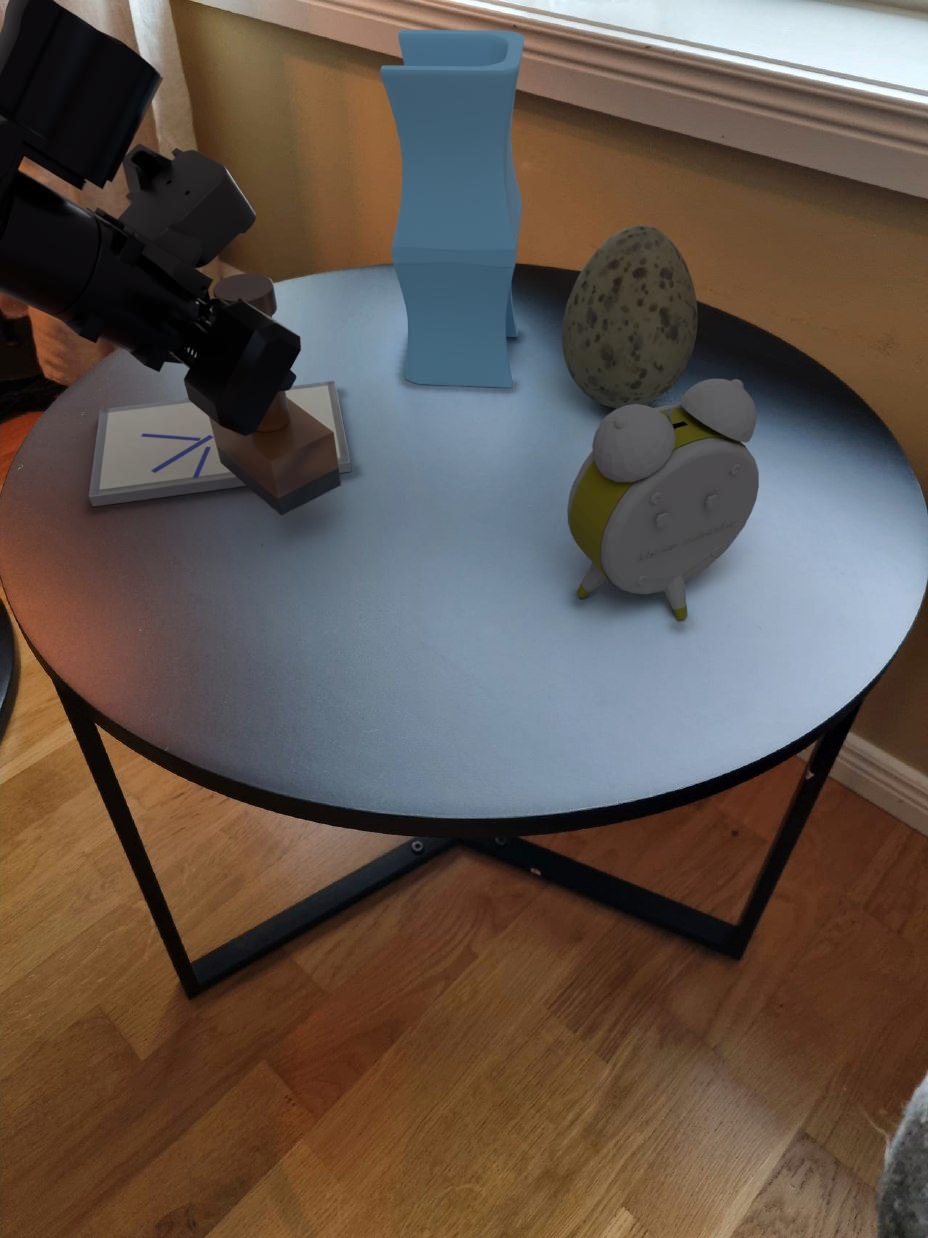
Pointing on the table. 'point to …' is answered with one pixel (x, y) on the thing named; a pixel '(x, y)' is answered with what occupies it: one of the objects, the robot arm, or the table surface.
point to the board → (182, 447)
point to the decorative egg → (630, 319)
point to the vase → (457, 202)
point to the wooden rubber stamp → (277, 429)
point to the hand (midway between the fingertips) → (279, 373)
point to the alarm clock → (665, 490)
